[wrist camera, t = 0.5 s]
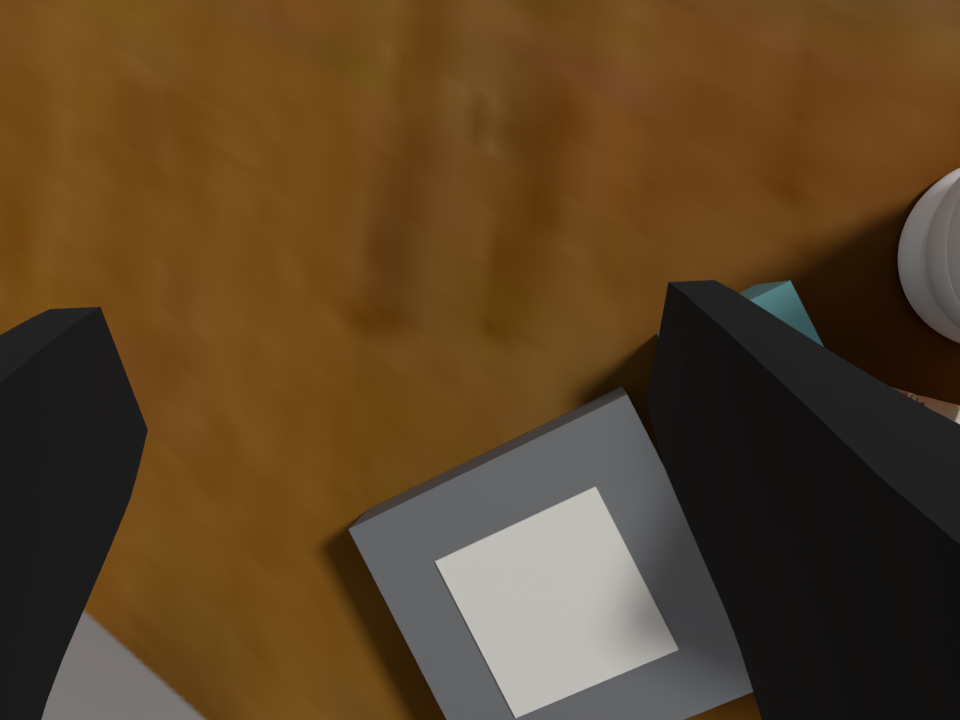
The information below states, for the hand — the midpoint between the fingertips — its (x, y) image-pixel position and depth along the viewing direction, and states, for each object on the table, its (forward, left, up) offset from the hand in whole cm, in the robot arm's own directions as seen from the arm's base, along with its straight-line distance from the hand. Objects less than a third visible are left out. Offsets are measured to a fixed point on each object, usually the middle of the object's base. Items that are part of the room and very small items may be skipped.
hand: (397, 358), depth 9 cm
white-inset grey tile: (-12, +4, -24) cm, 28 cm away
